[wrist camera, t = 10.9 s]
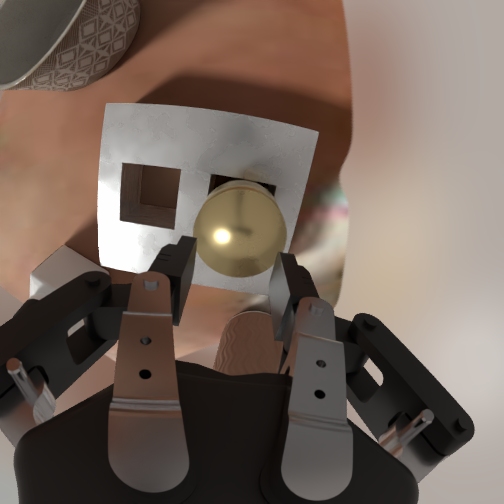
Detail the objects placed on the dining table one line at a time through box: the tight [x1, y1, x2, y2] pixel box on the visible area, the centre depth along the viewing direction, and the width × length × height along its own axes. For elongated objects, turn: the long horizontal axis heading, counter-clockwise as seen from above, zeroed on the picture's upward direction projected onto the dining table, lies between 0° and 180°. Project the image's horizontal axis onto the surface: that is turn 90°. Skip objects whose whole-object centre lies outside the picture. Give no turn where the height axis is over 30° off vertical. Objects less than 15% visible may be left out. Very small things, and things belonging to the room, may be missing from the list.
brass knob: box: [193, 177, 287, 278], centre depth 20 cm, size 5×5×10 cm
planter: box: [0, 0, 141, 91], centre depth 12 cm, size 13×13×10 cm
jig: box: [98, 103, 319, 296], centre depth 22 cm, size 14×16×5 cm
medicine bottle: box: [13, 245, 110, 338], centre depth 23 cm, size 7×7×12 cm
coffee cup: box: [213, 311, 283, 375], centre depth 26 cm, size 10×10×12 cm
